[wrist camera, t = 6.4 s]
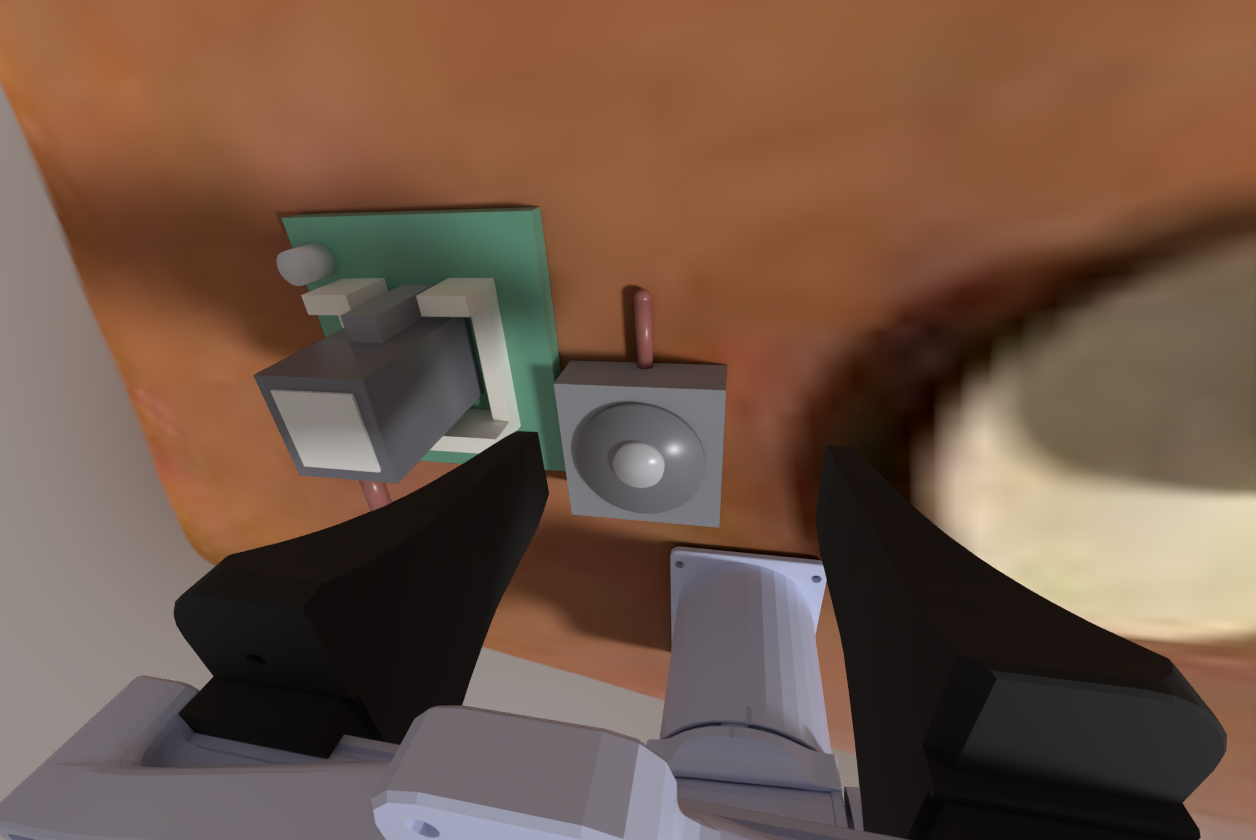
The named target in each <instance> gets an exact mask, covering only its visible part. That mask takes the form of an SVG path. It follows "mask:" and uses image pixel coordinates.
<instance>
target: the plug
mask: <svg viewBox="0 0 1256 840" xmlns="http://www.w3.org/2000/svg"><path fill="white" fill-rule="evenodd" d="M431 287H433V285H402V286H400V287H397V288H395V289H393V290H391V291H389V292H387V293H385V294H383V295H381V296H379V297H377V298H375V299H373V300H371V301H369V302H367V303H365V304H363V305H361V306H359V307H357V308H355V309H352V310H350V311H348V312H346V313H344V314H342V315H340V317H341V320H342V322H343V325H344V328H342V329H340V330H339V331H337V332H335V333H333V334H331V335H329V336H327V337H325V338H323V339H321V340H319V341H318V342H316V343H314V344H312V345H310V346H308V347H306V348H304V349H302V350H300V351H298V352H297V353H295V354H293V355H291V356H289V357H287V358H285V359H283V360H281V361H279V362H277V363H276V364H274V365H272V366H270V367H268V368H266V369H264V370H262V371H260V372H258V373H256V374H255V375H254V377H255V380H256V382H257V384H258V386H259V388H260V390H261V393H262V395H263V397H264V399H265V401H266V403H267V406H268V408H269V410H270V412H271V414H272V416H273V419H274V421H275V423H276V425H277V427H278V429H279V432H280V434H281V436H282V438H283V440H284V443H285V445H286V447H287V449H288V451H289V453H290V456H291V458H292V460H293V462H294V464H295V466H296V469H297V471H298V473H299V475H304V476H316V477H327V478H339V479H351V480H359V482H360V484H361V487H362V489H363V492H364V495H365V497H366V500H367V502H368V505H369V507H370V510H371V511H373V510H376V509H378V508H381V507H383V506H385V505H388V504H390V503H392V501H391V498H390V495H389V492H388V489H387V487H386V484H385V482H386V483H397V484H398V483H399V482H400V481H401V480H402V479H403V478H404V477H405V476H406V475H407V474H408V473H409V471H410V470H411V469H412V468H413V467H414V466H415V465H416V464H417V463H418V462H419V461H420V460H421V459H422V458H423V457H424V456H425V455H426V453H427V452H428V451H429V450H430V449H431V448H432V447H433V446H434V445H435V444H436V443H437V442H438V441H439V440H440V439H441V438H442V437H443V435H444V434H445V433H446V432H447V431H448V430H449V429H450V428H451V427H452V426H453V425H454V424H455V423H456V422H457V421H458V420H459V419H460V417H461V416H462V415H463V414H464V413H465V412H466V411H467V410H468V409H469V408H470V407H471V406H472V405H473V404H474V403H475V402H476V401H477V399H478V398H479V397H480V396H481V395H482V394H483V393H484V389H483V384H482V380H481V375H480V370H479V366H478V361H477V356H476V352H475V347H474V342H473V338H472V333H471V328H470V324H469V319H468V317H427V316H421V312H420V309H419V305H418V301H417V297H416V295H418V294H420V293H422V292H424V291H426V290H428V289H429V288H431Z"/></svg>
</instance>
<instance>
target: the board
mask: <svg viewBox="0 0 1256 840" xmlns="http://www.w3.org/2000/svg"><path fill="white" fill-rule="evenodd" d="M282 221H283V224H284V227H285V229H286V232H287V235H288V237H289V240H290V243H291V245H292V248H293V249H290V250H286V251H283V252H281V253H280V254H279V255H278V257H277V267H278V270H279V272H280V274H281V275H282V276H283V278H284V279H285V280H286V281H288V282H289V283H291V284H292V285H295V286H303V285H306V286H307V289H308V291H309V292H308V293H305V294H303V295H301V296H302V299H303V302H304V304H305V307H306V310H307V312H308V315H317V316H318V319H319V321H320V324H321V327H322V329H323V332H324V335H325V337H327V336H329V335H331V334H333V333H335V332H337V331H339V330H340V329H342V328H344V325H343V322H342V320H341V317H340V315H342V314H344V313H346V312H348V311H350V310H352V309H355V308H357V307H359V306H361V305H363V304H365V303H367V302H369V301H371V300H373V299H375V298H377V297H379V296H381V295H383V294H385V293H387V292H389V291H391V290H393V289H395V288H397V287H400V286H402V285H433V287H431V288H429V289H428V290H426V291H424V292H422V293H420V294H418V295H416V297H417V301H418V305H419V309H420V312H421V316H427V317H468V319H469V324H470V328H471V333H472V338H473V342H474V347H475V352H476V356H477V361H478V366H479V370H480V375H481V380H482V384H483V389H484V393H483V394H482V395H481V396H480V397H479V398H478V399H477V401H476V402H475V403H474V404H473V405H472V406H471V407H470V408H469V409H468V410H467V411H466V412H465V413H464V414H463V415H462V416H461V417H460V419H459V420H458V421H457V422H456V423H455V424H454V425H453V426H452V427H451V428H450V429H449V430H448V431H447V432H446V433H445V434H444V435H443V437H442V438H441V439H440V440H439V441H438V442H437V443H436V444H435V445H434V446H433V447H432V448H431V449H430V450H429V451H428V452H427V453H426V455H425V456H424V457H423V458H422V459H421V460H420V461H432V462H446V463H459V464H463V463H465V462H466V461H468V460H469V459H471V458H473V457H474V456H476V455H477V454H479V453H481V452H482V451H484V450H485V449H487V448H488V447H490V446H492V445H493V444H495V443H496V442H498V441H499V440H501V439H503V438H504V437H506V436H508V435H510V434H511V433H513V432H515V431H529V432H538V435H539V440H540V446H541V452H542V457H543V463H544V468H545V470H555V471H566V468H565V461H564V454H563V447H562V440H561V432H560V425H559V418H558V411H557V404H556V397H555V389H554V383H555V381H556V380H557V378H558V377H559V376H560V374H561V366H560V358H559V350H558V343H557V335H556V327H555V319H554V312H553V304H552V296H551V288H550V281H549V273H548V265H547V258H546V250H545V242H544V234H543V227H542V219H541V211H540V207H520V208H487V209H454V210H422V211H389V212H357V213H324V214H298V215H293V216H289V217H284V218H282Z"/></svg>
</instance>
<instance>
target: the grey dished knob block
mask: <svg viewBox="0 0 1256 840" xmlns="http://www.w3.org/2000/svg"><path fill="white" fill-rule="evenodd" d="M634 309H635V331H636V352H637V362H605V361H571V360H570V362H569V363H568V364H567V366H566V367H565V369H564V370H563V371H562V373H561V374H560V376H559V377H558V378H557V380H556V381H555V383H554V389H555V397H556V404H557V411H558V418H559V425H560V432H561V440H562V447H563V454H564V461H565V468H566V476H567V483H568V490H569V497H570V504H571V511H572V514H573V515H585V516H596V517H607V518H618V519H629V520H640V521H652V522H663V523H674V524H685V525H696V526H707V527H719V521H720V503H721V484H722V464H723V444H724V423H725V403H726V383H727V365H706V364H672V363H653V340H652V307H651V294H650V293H649V292H648V291H647V290H645V289H640V290H638V291H637V292H636V293H635V295H634Z"/></svg>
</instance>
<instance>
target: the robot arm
mask: <svg viewBox="0 0 1256 840" xmlns="http://www.w3.org/2000/svg"><path fill="white" fill-rule="evenodd" d="M548 495H549V491H548V485H547V480H546V474H545V468H544V463H543V457H542V452H541V446H540V440H539V435H538V432H529V431H515V432H513V433H511V434H510V435H508V436H506V437H504V438H503V439H501V440H499V441H498V442H496V443H495V444H493V445H492V446H490V447H488V448H487V449H485V450H484V451H482V452H481V453H479V454H477V455H476V456H474V457H473V458H471V459H469V460H468V461H466V462H465V463H463V464H462V465H460V466H458V467H457V468H455V469H453V470H452V471H450V472H448V473H446V474H445V475H443V476H441V477H440V478H438V479H436V480H434V481H433V482H431V483H429V484H427V485H426V486H424V487H422V488H420V489H418V490H416V491H414V492H412V493H410V494H409V495H407V496H404V497H402V498H400V499H398V500H396V501H394V502H392V503H390V504H388V505H385V506H383V507H381V508H378V509H376V510H373V511H371V512H368V513H366V514H363V515H361V516H358V517H356V518H353V519H351V520H348V521H346V522H343V523H340V524H338V525H335V526H332V527H329V528H326V529H323V530H320V531H317V532H314V533H311V534H307V535H304V536H301V537H298V538H294V539H291V540H287V541H284V542H280V543H276V544H272V545H268V546H264V547H260V548H256V549H252V550H248V551H244V552H240V553H235V554H231V555H228V556H227V557H226V558H224V559H223V560H222V561H221V562H220V563H219V564H218V565H216V566H215V567H214V568H213V569H212V570H211V571H210V572H209V573H207V574H206V575H205V576H204V577H202V578H201V579H200V580H199V581H198V582H197V583H195V584H194V585H193V586H192V587H191V588H189V589H188V590H187V591H186V592H185V593H184V594H182V595H181V596H180V597H179V598H178V599H177V600H176V602H175V607H174V618H175V621H176V625H177V627H178V628H179V630H180V632H181V633H182V635H183V636H184V638H185V639H186V641H187V642H188V643H189V645H191V647H192V648H193V650H194V651H195V652H196V653H197V655H198V656H199V658H200V659H201V660H202V661H203V663H204V664H205V666H206V667H207V668H208V669H209V671H210V672H211V673H212V675H213V676H214V677H213V678H212V679H211V680H210V681H209V682H208V683H207V684H206V685H205V686H204V687H203V688H202V690H201V691H199V690H198V689H196V688H195V687H193V686H191V685H189V684H186V683H183V682H178V681H172V680H167V679H161V678H156V677H150V676H138V677H136V678H135V679H134V680H133V681H132V682H131V683H130V684H128V686H127V687H125V688H124V689H123V690H122V691H121V692H120V693H119V694H118V695H117V696H115V697H114V698H113V699H112V700H111V701H110V702H109V703H108V704H107V705H106V706H105V707H103V708H102V709H101V710H100V711H99V712H98V713H97V714H96V715H95V716H94V717H93V718H91V719H90V720H89V721H88V722H87V723H86V724H85V725H84V726H83V727H82V728H81V729H80V730H78V731H77V732H76V733H75V734H74V735H73V736H72V737H71V738H70V739H69V740H68V741H66V742H65V743H64V744H63V745H62V746H61V747H60V748H59V749H58V750H57V751H56V752H54V753H53V755H51V756H50V757H49V758H48V759H47V760H46V761H45V762H44V763H43V764H41V765H40V766H39V767H38V768H37V769H36V770H35V771H34V772H33V773H32V774H31V775H30V776H28V777H27V778H26V779H25V780H24V781H23V782H22V783H21V784H20V785H19V786H18V787H17V788H15V789H14V790H13V791H12V792H11V793H10V794H9V795H8V796H7V797H6V798H4V799H3V800H2V801H1V802H0V835H1V836H2V837H4V838H6V839H7V840H1199V839H1200V838H1201V837H1200V831H1199V828H1198V827H1197V825H1196V824H1195V822H1194V821H1193V819H1192V817H1191V816H1190V814H1189V813H1188V811H1187V810H1186V808H1185V807H1184V805H1183V802H1184V801H1185V800H1186V798H1187V797H1188V796H1189V795H1190V794H1191V793H1192V792H1193V791H1194V790H1195V789H1196V788H1197V787H1198V786H1199V785H1200V784H1201V783H1202V782H1203V781H1204V780H1205V779H1206V778H1207V777H1208V776H1209V775H1210V774H1211V773H1212V772H1213V771H1214V770H1215V768H1216V767H1217V765H1218V764H1219V762H1220V760H1221V759H1222V757H1223V756H1224V754H1225V752H1226V745H1227V734H1226V732H1225V730H1224V729H1223V727H1222V725H1221V724H1220V722H1219V720H1218V719H1217V718H1216V716H1215V715H1214V714H1213V712H1212V711H1211V710H1210V709H1209V707H1208V706H1207V705H1206V704H1205V702H1204V701H1203V700H1202V699H1201V697H1200V696H1199V695H1198V693H1197V692H1196V691H1195V690H1194V688H1193V687H1192V686H1191V685H1190V683H1189V682H1188V681H1187V680H1186V678H1185V677H1184V676H1183V675H1182V674H1181V672H1180V671H1179V670H1178V669H1177V668H1176V666H1175V665H1174V664H1173V663H1172V662H1171V661H1170V659H1168V658H1166V657H1164V656H1161V655H1159V654H1157V653H1155V652H1153V651H1151V650H1148V649H1146V648H1144V647H1142V646H1140V645H1138V644H1135V643H1133V642H1131V641H1129V640H1127V639H1125V638H1122V637H1120V636H1118V635H1116V634H1114V633H1112V632H1109V631H1107V630H1105V629H1103V628H1101V627H1099V626H1096V625H1094V624H1092V623H1090V622H1088V621H1086V620H1085V619H1083V618H1081V617H1079V616H1077V615H1075V614H1073V613H1071V612H1069V611H1067V610H1066V609H1064V608H1062V607H1060V606H1058V605H1056V604H1054V603H1052V602H1050V601H1049V600H1047V599H1045V598H1043V597H1042V596H1040V595H1038V594H1036V593H1035V592H1033V591H1031V590H1029V589H1028V588H1026V587H1024V586H1023V585H1021V584H1019V583H1018V582H1016V581H1014V580H1013V579H1011V578H1010V577H1008V576H1006V575H1005V574H1003V573H1001V572H1000V571H998V570H997V569H995V568H993V567H992V566H990V565H989V564H987V563H986V562H984V561H983V560H981V559H980V558H978V557H977V556H976V555H974V554H973V553H971V552H970V551H969V550H967V549H966V548H965V547H963V546H962V545H960V544H959V543H958V542H956V541H955V540H953V539H952V538H951V537H949V536H948V535H947V534H946V533H944V532H943V531H942V530H940V529H939V528H938V527H937V526H936V525H934V524H933V523H932V522H931V521H930V520H929V519H927V518H926V517H925V516H924V515H923V514H921V513H920V512H919V511H918V510H917V509H916V508H915V507H913V506H912V505H911V504H910V503H909V502H908V501H907V500H906V499H905V498H904V497H903V496H902V495H900V494H899V493H898V492H897V491H896V490H895V489H894V488H893V487H892V486H891V485H890V484H889V483H888V482H887V481H886V480H885V479H884V478H883V477H882V476H881V475H880V474H879V473H878V472H877V471H876V470H875V469H874V467H873V466H872V465H871V464H870V463H869V462H868V461H867V460H866V459H865V458H864V457H863V456H862V455H861V454H860V453H859V452H858V451H857V450H856V449H855V448H854V447H847V446H826V449H825V456H824V462H823V469H822V475H821V482H820V488H819V495H818V501H817V508H816V521H817V532H818V541H819V550H820V554H821V558H822V561H820V560H812V559H802V558H792V557H782V556H771V555H761V554H751V553H741V552H731V551H720V550H710V549H700V548H690V547H675V548H673V549H672V551H671V555H670V569H671V637H672V650H671V657H670V665H669V672H668V680H667V687H666V695H665V703H664V710H663V717H662V725H661V732H660V739H659V740H648V741H647V745H645V744H644V743H643V742H641V741H640V740H638V739H636V738H633V737H630V736H627V735H623V734H620V733H617V732H614V731H610V730H607V729H603V728H597V727H590V726H585V725H578V724H573V723H566V722H560V721H554V720H548V719H542V718H536V717H529V716H524V715H517V714H511V713H505V712H499V711H493V710H487V709H481V708H475V707H469V706H462V703H463V701H464V698H465V694H466V691H467V688H468V685H469V682H470V679H471V676H472V673H473V671H474V668H475V665H476V662H477V659H478V656H479V654H480V651H481V648H482V645H483V643H484V640H485V637H486V635H487V632H488V629H489V627H490V624H491V622H492V619H493V616H494V614H495V611H496V609H497V607H498V605H499V602H500V600H501V598H502V596H503V594H504V592H505V590H506V588H507V586H508V584H509V582H510V580H511V578H512V576H513V574H514V572H515V571H516V569H517V567H518V565H519V563H520V561H521V559H522V557H523V555H524V553H525V551H526V549H527V547H528V545H529V543H530V541H531V539H532V537H533V535H534V533H535V531H536V529H537V527H538V525H539V522H540V519H541V517H542V514H543V511H544V508H545V505H546V502H547V498H548ZM677 561H680V562H683V563H678V562H677ZM813 576H818V577H813ZM826 580H827V583H828V587H829V591H830V596H831V600H832V604H833V608H834V612H835V616H836V620H837V624H838V628H839V632H840V637H841V642H842V647H843V652H844V659H845V667H846V674H847V682H848V689H849V697H850V705H851V713H852V722H853V730H854V738H855V748H856V757H857V767H858V776H859V786H860V788H858V787H844V801H843V797H842V789H841V783H840V776H839V769H838V762H837V757H836V756H835V755H834V754H831V747H830V740H829V733H828V726H827V718H826V711H825V704H824V697H823V690H822V683H821V676H820V669H819V661H818V654H817V647H816V640H815V634H816V629H817V624H818V619H819V614H820V609H821V604H822V599H823V595H824V590H825V585H826ZM844 803H845V806H844Z"/></svg>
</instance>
